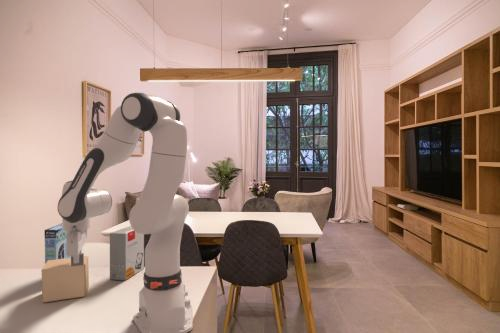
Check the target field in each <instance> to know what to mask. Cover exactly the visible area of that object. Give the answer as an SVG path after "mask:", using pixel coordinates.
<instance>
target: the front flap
mask: <svg viewBox="0 0 500 333" xmlns="http://www.w3.org/2000/svg"><path fill="white" fill-rule="evenodd" d="M84 256H85V253H84V252H81V253H79V257H80V261H79V263H74V262H73V256H71V266H63V267H54V268H46V269H41V290H42V289H43V302H44V303H49V302H48V301H51V302H56V301H55V300H58V301H63V300H62V299H64V300H69V299H68V298H71V299H76V298H75V297H77V298H83V297H82V296H84V297H86V296H85V292H84ZM43 302H42V303H43Z"/></svg>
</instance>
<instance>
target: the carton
mask: <svg viewBox="0 0 500 333" xmlns="http://www.w3.org/2000/svg"><path fill="white" fill-rule="evenodd" d="M63 266H71V258H65V259H56V260H48V261H47V263H46V264H45V263H44V266H43V267H42V269H46V268H54V267H63ZM42 269H41V270H42ZM89 273H90V272H89V255H84V292H85V296H82V297H81V298H83V297H87V295H88V294H87V293H88V289H89V287H90V280H89V279H90V277H89ZM41 294H42V295H41V296H42V303H43V304H44V303H45V302H43V289H42V288H41ZM77 298H78V297H75V298H74V299H77ZM69 299H72V298H68V299H67V300H69ZM63 300H65V299H62V300H61V301H63ZM57 301H59V300H55V301H54V302H57ZM50 302H52V301H48V302H47V303H50Z"/></svg>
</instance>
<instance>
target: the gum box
mask: <svg viewBox="0 0 500 333" xmlns="http://www.w3.org/2000/svg"><path fill="white" fill-rule="evenodd" d="M66 239H67V231H64V230H63V223H59V224H57V225H55V226H52V227H49V228H47V229H44V265H45V264H46V263H47V261H48V260H56V259H65V258H71V256H67V254H66Z"/></svg>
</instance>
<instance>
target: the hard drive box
mask: <svg viewBox="0 0 500 333" xmlns="http://www.w3.org/2000/svg"><path fill="white" fill-rule="evenodd" d="M142 270H145V234H139V233H137V232H136V231H135V230H134V229H133V228H132V227H131V225H129V226H126V227H124V228H120V229H117V230H115V231H112V232H110V233H109V280H115V281H127V280H128V279H131V278H132V277H134V275H137V274H138V273H140V272H142Z"/></svg>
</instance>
